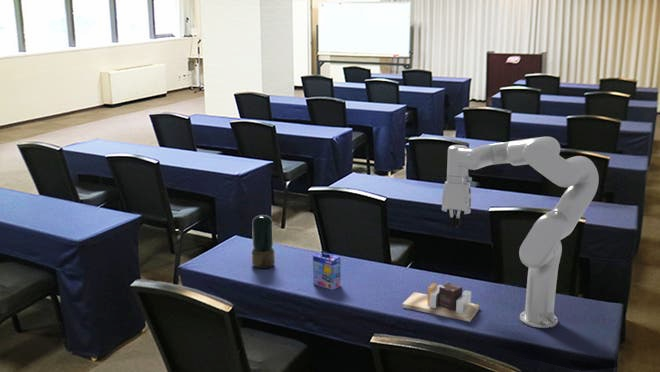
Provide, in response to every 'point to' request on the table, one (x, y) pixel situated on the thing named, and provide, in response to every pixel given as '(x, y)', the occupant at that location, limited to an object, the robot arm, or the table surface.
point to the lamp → (262, 242)
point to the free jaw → (433, 295)
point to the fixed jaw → (463, 302)
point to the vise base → (438, 307)
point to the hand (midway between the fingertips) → (455, 227)
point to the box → (449, 295)
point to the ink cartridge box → (326, 270)
